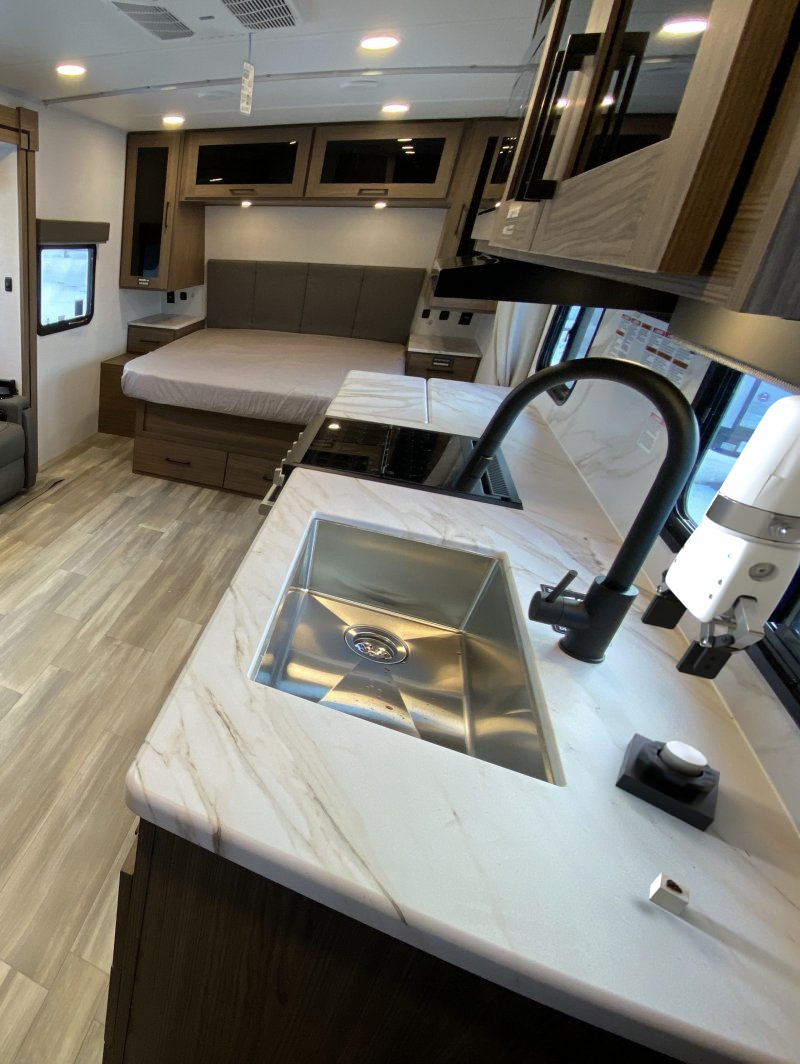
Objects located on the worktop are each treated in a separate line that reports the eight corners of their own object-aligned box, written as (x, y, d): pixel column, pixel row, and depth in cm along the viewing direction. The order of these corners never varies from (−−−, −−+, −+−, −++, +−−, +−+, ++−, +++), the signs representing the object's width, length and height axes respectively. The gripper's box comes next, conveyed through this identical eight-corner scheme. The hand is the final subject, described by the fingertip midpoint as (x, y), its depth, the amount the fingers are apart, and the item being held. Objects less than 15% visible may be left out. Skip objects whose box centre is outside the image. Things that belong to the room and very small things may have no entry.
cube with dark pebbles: (648, 900, 58) (660, 885, 57) (650, 885, 59) (662, 870, 58) (677, 916, 57) (690, 901, 56) (678, 901, 58) (691, 886, 57)
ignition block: (627, 744, 76) (642, 722, 75) (710, 784, 71) (728, 761, 69) (614, 786, 70) (630, 763, 68) (704, 832, 65) (723, 809, 63)
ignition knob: (660, 747, 71) (668, 736, 70) (699, 766, 69) (709, 754, 68) (656, 763, 69) (665, 751, 68) (697, 783, 67) (706, 770, 66)
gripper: (870, 566, 51) (757, 708, 59) (759, 495, 65) (680, 617, 73) (759, 546, 53) (665, 685, 61) (675, 482, 68) (608, 601, 76)
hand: (673, 648), depth 67 cm, fingers open, 9 cm apart
